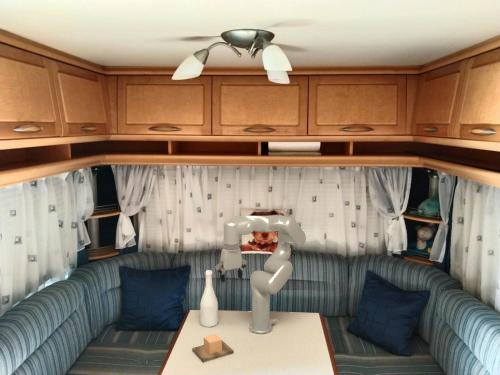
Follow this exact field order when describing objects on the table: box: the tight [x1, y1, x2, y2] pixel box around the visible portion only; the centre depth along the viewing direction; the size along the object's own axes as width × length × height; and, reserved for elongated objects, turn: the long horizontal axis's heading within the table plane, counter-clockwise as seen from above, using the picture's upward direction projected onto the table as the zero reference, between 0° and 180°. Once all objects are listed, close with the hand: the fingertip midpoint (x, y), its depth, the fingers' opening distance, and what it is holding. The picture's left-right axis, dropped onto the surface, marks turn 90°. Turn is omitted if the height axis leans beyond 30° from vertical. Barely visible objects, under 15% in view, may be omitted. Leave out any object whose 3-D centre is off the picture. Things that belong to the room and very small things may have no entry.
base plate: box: [191, 340, 235, 363], centre depth 213 cm, size 16×12×5 cm
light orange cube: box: [203, 333, 223, 354], centre depth 213 cm, size 6×6×6 cm
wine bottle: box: [199, 269, 219, 328], centre depth 241 cm, size 10×10×30 cm
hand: (231, 279), depth 220 cm, fingers open, 9 cm apart
